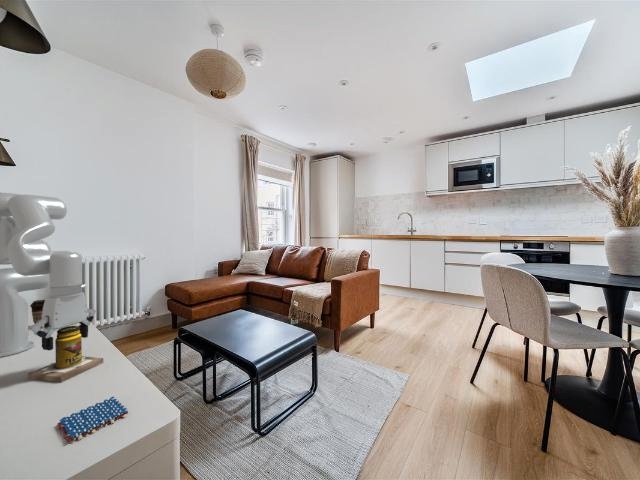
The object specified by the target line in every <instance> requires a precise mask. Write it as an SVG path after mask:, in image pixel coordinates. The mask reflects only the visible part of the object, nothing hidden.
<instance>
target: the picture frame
mask: <svg viewBox="0 0 640 480" xmlns="http://www.w3.org/2000/svg"><path fill="white" fill-rule="evenodd" d="M83 357H85V359H84V361H83V363H82V364H81V366H78V367H74V368H69V369H64V370H59V371H54V372H49V373H44V372H45V370H46V369H47V368H48V367H49V365H50V364H48V365H45V366H43V367H40V368H38V369H36V370H33V371H30V372H28V375H27V376H28V379H34V380H41V381H47V382H56V383H63V382H65V381H67V380H69V379H71V378H73V377H76V376H78V375H80V374H82V373H85V372H87V371H88V370H91V369H93V368H96V367H97V366H99V365H102V364H104V358H103V357H94V356H85V355H82V358H83ZM43 373H44V374H43Z"/></svg>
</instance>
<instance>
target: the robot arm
mask: <svg viewBox="0 0 640 480" xmlns="http://www.w3.org/2000/svg"><path fill="white" fill-rule="evenodd" d="M67 209H68V208H67V205H66V204H65V202H64V201H63V200H62V199H60V198H58V197H54V196H52V197H51V196H45V195H44V196H42V195H35V194H20V193H19V194H18V193H12V192H11V193H10V192H0V266H1V265H2V266H3V265H4V266H5V265H11V266H12V267H8V268H7V267H5V268H0V358H2V357H6V356H11V355H15V354H19V353H22V352H24V351H28V350H30V349H31V348H33V347H34V346H35V342H34V341H33V340H31V341H29V329H30V331H32V332H33V334H34V335H35V336H37V337H39V338H41V348H42V350H44V351H52V350H54V337H53V334H54V333H55V332H56V331H57V330H59V329H61V328H64V327H68V326H74V325H77V324H79V325H78V326H79V327H80V334H81V336H82V338H84V339H86V338H88V337H89V326H90V325H91V322H92V321H93V320H94V318H95V315H96V313H97V310H96V309H92V308H88V304H87V297H86V295H85V292H83V289H85V288H86V284H84V283H83V255H82V254H81V253H79V252H71V251H69V250H55V251H54V250H53V251H52V249H51V246H50V245H49V243H48V242H47V241H45V240H43V239H46V238H48V237H50V236H51V235H53V234H54V233H55V231H56V225H54V222H53V220H62V219H64V218H65V217H66V216H67V213H68V210H67ZM46 288H49V289H48V290H49V293H48V294H49V295H48V296H46V297H45V299H44V300H45V302H44V306H43V312H42V319H41V320H40V321H38V322H37V323H34V324H32V325H31V326H30V327H29V307H28V306H29V305H28V302H27V300H26V299H25V298H24V297H23V296H21V295H19V294H18V293H22V292H26V291H36V290H41V289H46ZM41 326H42V328H40V327H41ZM42 329H43V330H42Z"/></svg>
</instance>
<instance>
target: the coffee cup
mask: <svg viewBox="0 0 640 480" xmlns="http://www.w3.org/2000/svg"><path fill="white" fill-rule="evenodd" d="M44 302H45V299H38V300H33V301H32V303H31V304H30V306H29V307H30V309H31V316H32V322H33V323H34V324H35V323H37V322H38V321H40V320H41V319H42V312H43V306H44ZM40 329H43V328H42V326H41V327H40Z"/></svg>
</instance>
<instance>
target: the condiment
mask: <svg viewBox="0 0 640 480" xmlns="http://www.w3.org/2000/svg"><path fill="white" fill-rule="evenodd" d="M82 338H83V337H82V336H81V334H80V327H79V325H70V326H67V327H63V328H60V329H56V338H55V341H54V343H55V344H54V346H55V362H51V363H50V364H48V365H49V367H48V368H47V369H46V370H45V372H44V373H49V372H54V371H59V370H64V369H69V368H74V367H78V366H81V364H82V363H83V361H84V359H85V357H83V358H82V356H83V353H82V351H83V350H82V349H83V348H82ZM44 373H43V374H44Z"/></svg>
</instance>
